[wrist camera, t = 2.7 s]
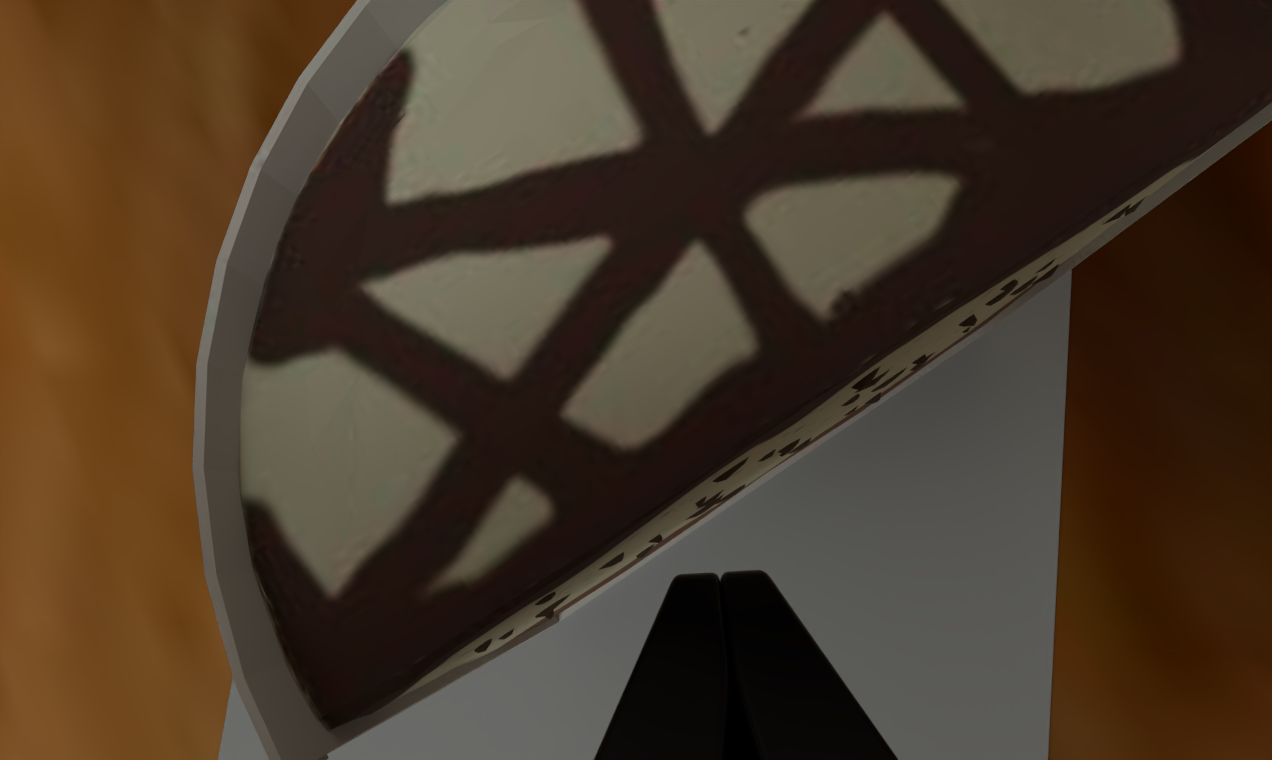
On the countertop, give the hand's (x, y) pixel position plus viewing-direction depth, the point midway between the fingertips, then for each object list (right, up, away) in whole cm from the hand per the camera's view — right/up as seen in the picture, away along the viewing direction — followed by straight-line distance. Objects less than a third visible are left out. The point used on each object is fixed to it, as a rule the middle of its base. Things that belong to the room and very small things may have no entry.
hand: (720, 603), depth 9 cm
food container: (0, +3, +9) cm, 10 cm away
